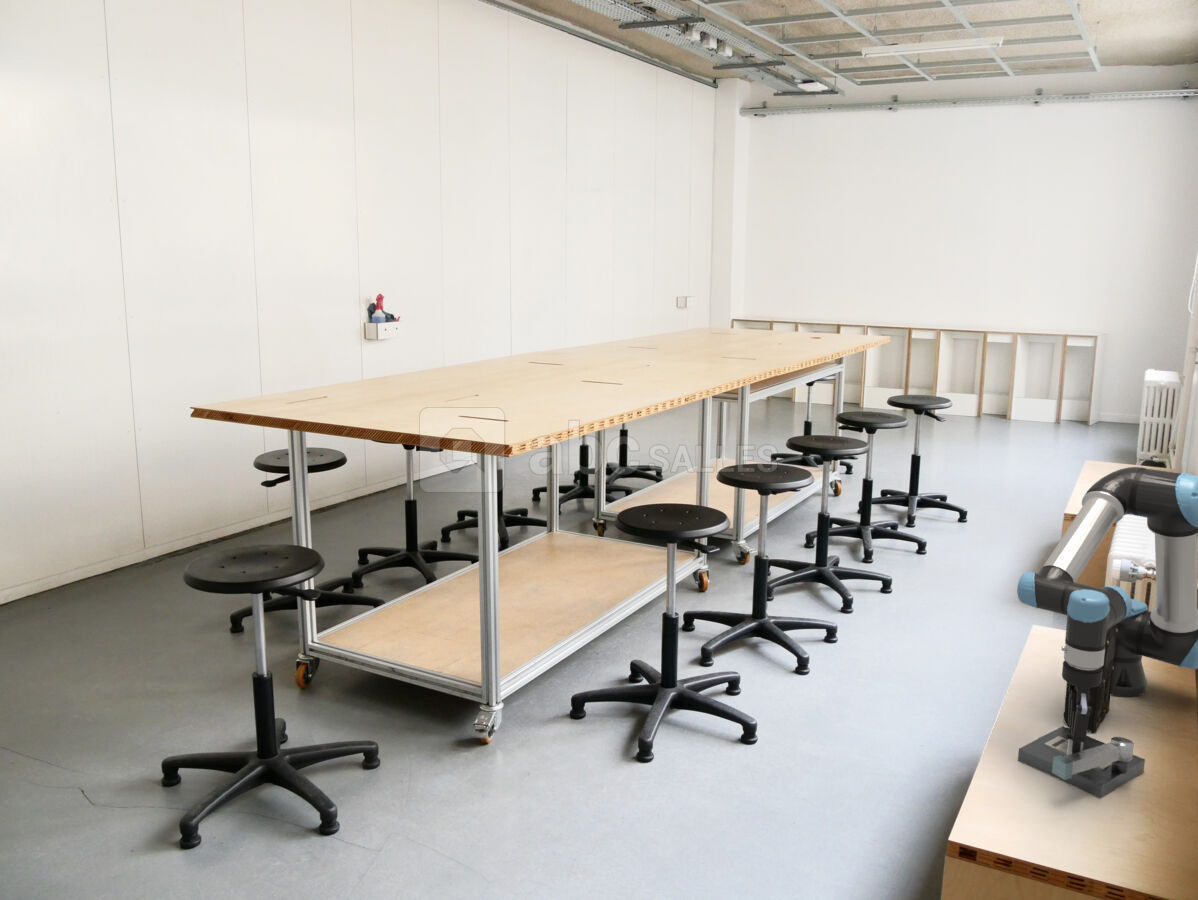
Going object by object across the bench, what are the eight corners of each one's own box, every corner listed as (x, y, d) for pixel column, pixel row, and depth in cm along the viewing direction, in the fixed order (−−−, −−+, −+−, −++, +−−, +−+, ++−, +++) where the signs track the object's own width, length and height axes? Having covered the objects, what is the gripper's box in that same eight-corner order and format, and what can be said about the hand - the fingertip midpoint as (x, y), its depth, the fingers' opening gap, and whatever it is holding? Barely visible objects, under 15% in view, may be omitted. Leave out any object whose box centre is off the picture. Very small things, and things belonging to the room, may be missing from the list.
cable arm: (1049, 771, 201) (1051, 755, 200) (1118, 749, 209) (1120, 734, 208) (1067, 781, 197) (1068, 765, 196) (1136, 759, 205) (1138, 743, 204)
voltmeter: (1098, 736, 227) (1108, 637, 222) (1059, 725, 233) (1068, 629, 228) (1113, 711, 239) (1123, 617, 234) (1076, 702, 245) (1084, 610, 240)
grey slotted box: (1061, 737, 227) (1063, 714, 226) (1145, 772, 211) (1148, 747, 210) (1017, 760, 217) (1019, 736, 216) (1102, 799, 201) (1105, 773, 200)
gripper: (1059, 649, 208) (1050, 747, 213) (1067, 674, 196) (1058, 778, 201) (1097, 653, 205) (1087, 752, 210) (1108, 678, 193) (1097, 783, 198)
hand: (1073, 765), depth 206 cm, fingers closed
